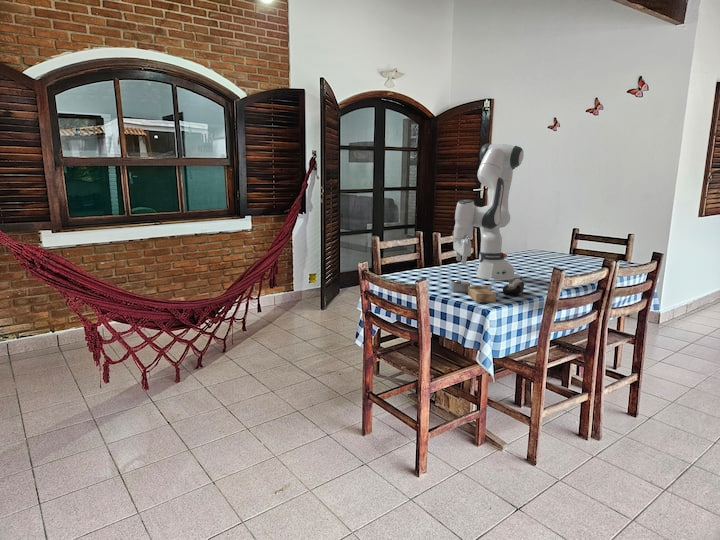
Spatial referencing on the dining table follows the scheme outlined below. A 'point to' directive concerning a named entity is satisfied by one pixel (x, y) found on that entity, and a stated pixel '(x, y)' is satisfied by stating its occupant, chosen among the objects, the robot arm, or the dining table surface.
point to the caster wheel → (514, 287)
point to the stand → (481, 294)
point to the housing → (459, 286)
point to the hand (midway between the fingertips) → (460, 262)
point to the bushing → (489, 287)
